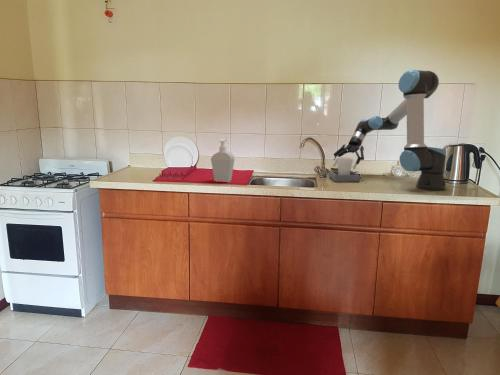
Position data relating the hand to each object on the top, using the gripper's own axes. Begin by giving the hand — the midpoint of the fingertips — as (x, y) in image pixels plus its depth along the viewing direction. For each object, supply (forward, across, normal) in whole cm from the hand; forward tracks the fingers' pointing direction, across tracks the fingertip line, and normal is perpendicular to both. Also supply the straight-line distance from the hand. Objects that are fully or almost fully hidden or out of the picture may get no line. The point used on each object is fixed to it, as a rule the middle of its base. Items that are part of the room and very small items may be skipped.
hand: (343, 166), depth 235 cm
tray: (+6, 0, -7) cm, 9 cm away
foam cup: (+5, 0, -6) cm, 8 cm away
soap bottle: (+44, +51, +32) cm, 75 cm away
